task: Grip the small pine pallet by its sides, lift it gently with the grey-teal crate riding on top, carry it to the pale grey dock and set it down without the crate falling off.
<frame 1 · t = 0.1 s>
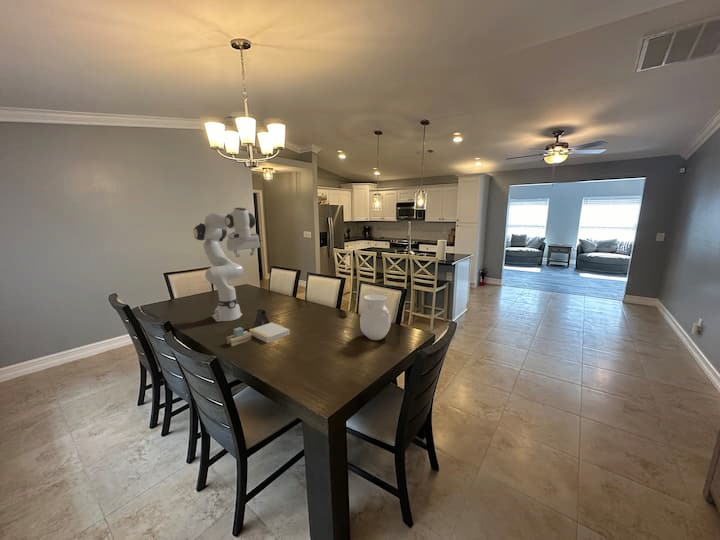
hand: (245, 256, 179), 48 cm above the table, fingers open, 8 cm apart
pallet: (239, 341, 168), on the table
white vase: (375, 337, 172), on the table
dock: (269, 334, 178), on the table
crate: (239, 335, 168), point 4 cm above the table
phone stand: (262, 326, 190), on the table
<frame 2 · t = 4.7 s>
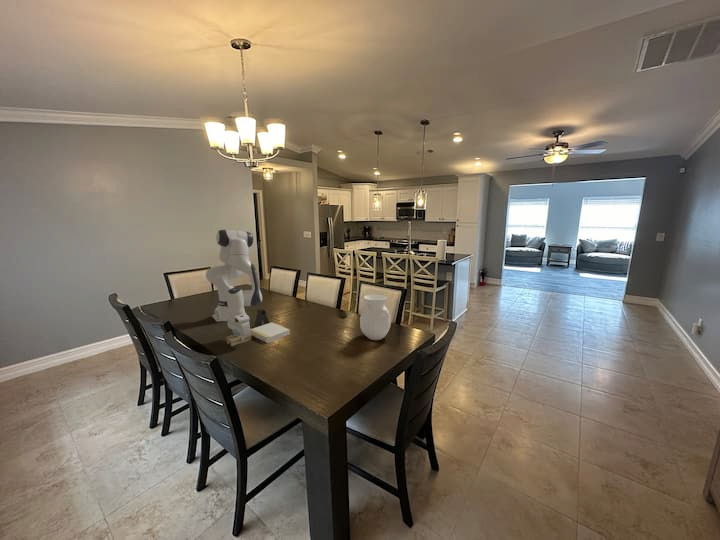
hand: (239, 338, 168), 2 cm above the table, fingers closed on pallet, 6 cm apart
pallet: (239, 341, 168), on the table, touching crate, gripper
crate: (239, 335, 167), point 4 cm above the table, touching pallet
everything else where it was.
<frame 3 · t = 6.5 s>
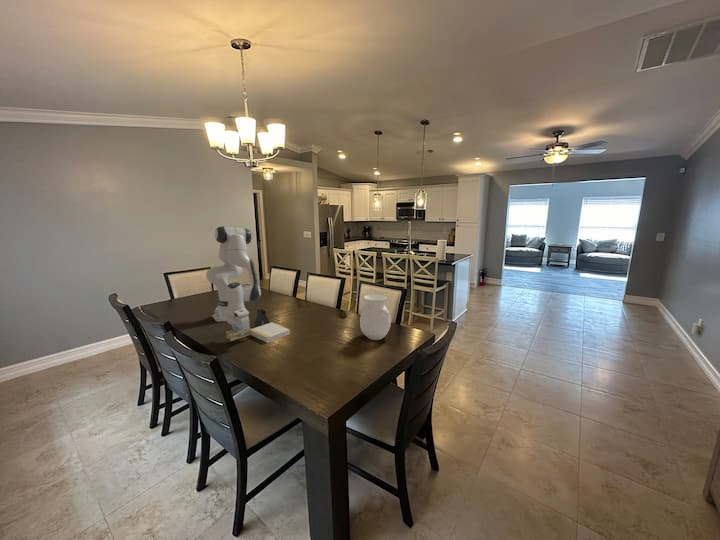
hand: (238, 333, 167), 5 cm above the table, fingers closed on pallet, 6 cm apart
pallet: (239, 336, 168), point 3 cm above the table, touching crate, gripper
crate: (238, 330, 167), point 7 cm above the table, touching pallet
everything else where it was.
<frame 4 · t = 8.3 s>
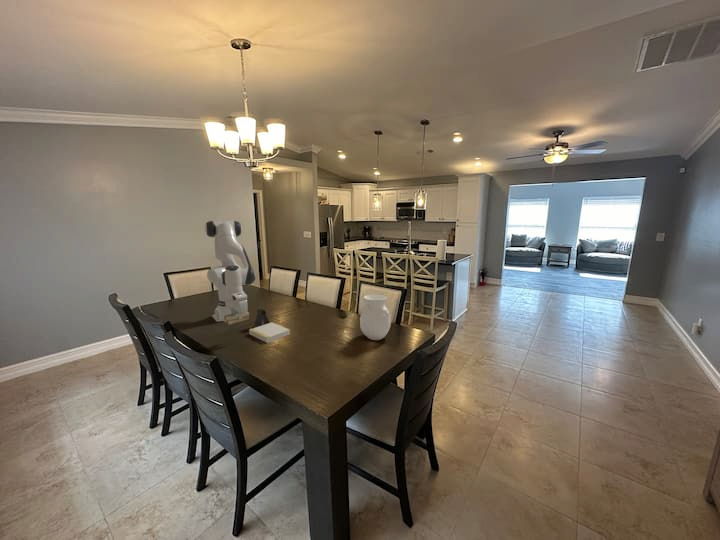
hand: (236, 317, 166), 15 cm above the table, fingers closed on pallet, 6 cm apart
pallet: (237, 320, 166), point 13 cm above the table, touching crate, gripper
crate: (236, 313, 165), point 17 cm above the table, touching pallet
everything else where it was.
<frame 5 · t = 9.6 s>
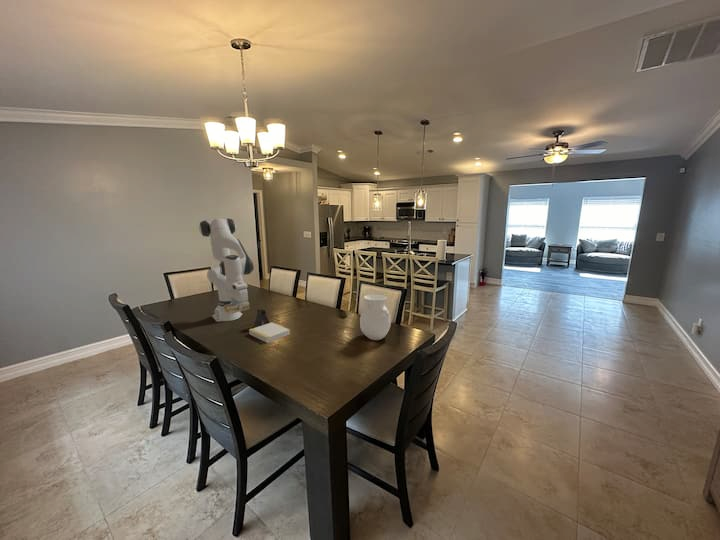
hand: (237, 307, 165), 21 cm above the table, fingers closed on pallet, 6 cm apart
pallet: (237, 310, 165), point 19 cm above the table, touching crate, gripper
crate: (236, 303, 164), point 23 cm above the table, touching pallet
everything else where it was.
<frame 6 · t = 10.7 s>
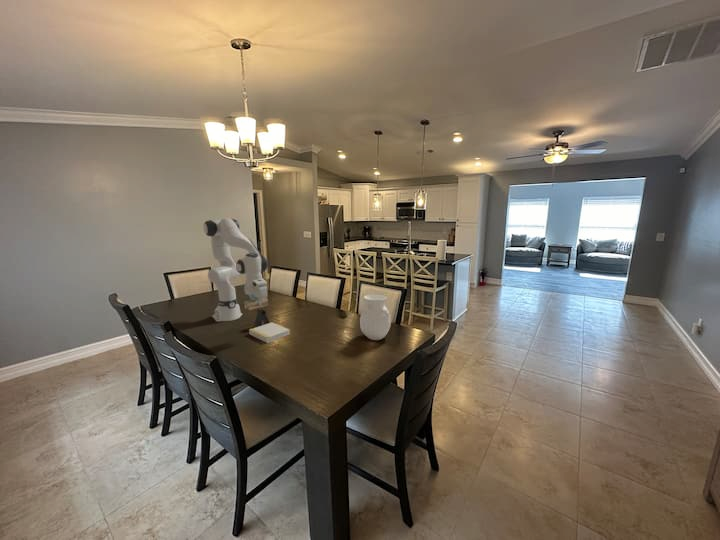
hand: (256, 303, 170), 21 cm above the table, fingers closed on pallet, 6 cm apart
pallet: (256, 306, 171), point 19 cm above the table, touching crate, gripper
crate: (256, 300, 170), point 23 cm above the table, touching pallet
everything else where it was.
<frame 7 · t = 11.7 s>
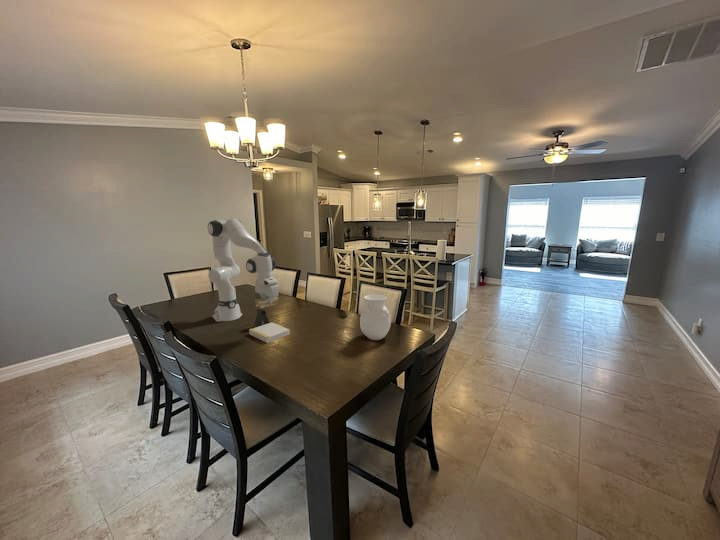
hand: (267, 301, 174), 21 cm above the table, fingers closed on pallet, 6 cm apart
pallet: (267, 305, 174), point 19 cm above the table, touching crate, gripper
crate: (266, 298, 173), point 23 cm above the table, touching pallet
everything else where it was.
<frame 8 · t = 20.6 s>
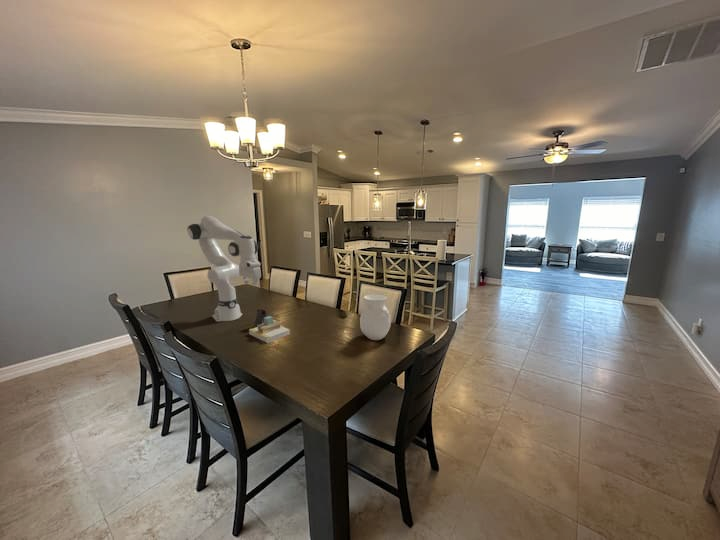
hand: (250, 284, 176), 31 cm above the table, fingers open, 8 cm apart
pallet: (269, 329, 177), point 3 cm above the table, touching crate, dock
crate: (268, 323, 177), point 7 cm above the table, touching pallet
everything else where it was.
at the end: pallet inside the target area on the dock (0.1 cm from its centre), point 3.0 cm above the dock's base; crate 0.0 cm off-centre on the pallet, point 4.0 cm above the pallet's base; the gripper is holding nothing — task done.
